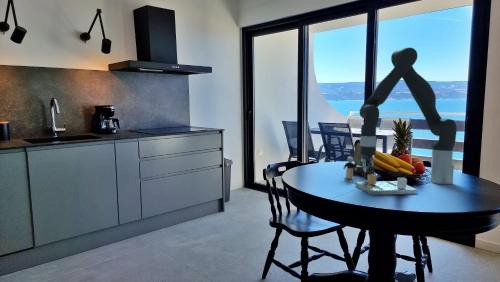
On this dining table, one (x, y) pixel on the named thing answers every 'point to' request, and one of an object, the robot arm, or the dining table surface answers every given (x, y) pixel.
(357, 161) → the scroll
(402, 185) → the fader
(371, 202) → the dining table surface
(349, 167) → the grandmother figurine
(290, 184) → the dining table surface
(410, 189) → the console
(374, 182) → the fader
